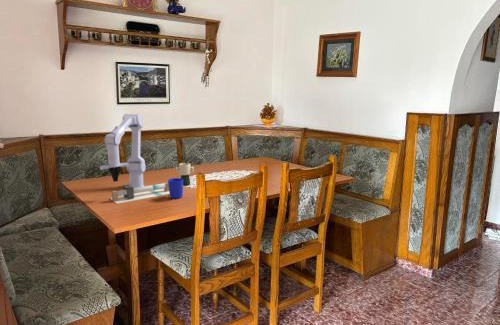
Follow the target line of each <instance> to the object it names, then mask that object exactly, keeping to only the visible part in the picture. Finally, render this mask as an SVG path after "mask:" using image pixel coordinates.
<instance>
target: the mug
mask: <svg viewBox="0 0 500 325" xmlns="http://www.w3.org/2000/svg"><path fill="white" fill-rule="evenodd" d="M167 182H168V185H169V193H170V194H169V196H170V198H171V199H176V200H177V199H181V198H182V197H183V193H184V185H183V179H181V177H174V178H173V177H172V178H169V179H168V180H167Z"/></svg>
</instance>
